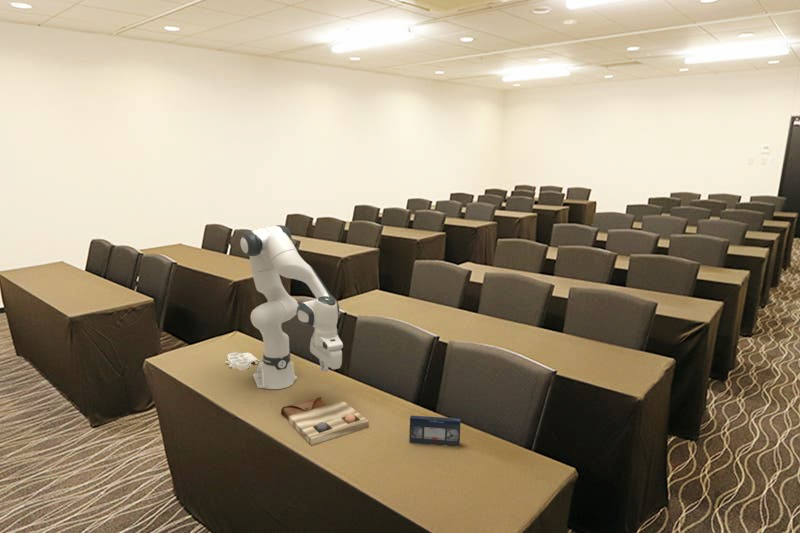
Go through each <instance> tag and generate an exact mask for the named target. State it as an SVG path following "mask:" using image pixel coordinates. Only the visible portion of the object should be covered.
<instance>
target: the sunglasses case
mask: <svg viewBox="0 0 800 533" xmlns="http://www.w3.org/2000/svg"><path fill="white" fill-rule="evenodd" d="M323 406H326V405H325V403H324V400H322V397H317V398H314V399H309V400H306V401H302V402H297V403H295V404H291V405H285V406H283V407H282V408H281V410H280V415H281V416H283V417H284V419H286V420H287V421H288V422H289V416H291V415H295V414H298V413H302V412H305V411H309V410H312V409H316V408H319V407H323Z"/></svg>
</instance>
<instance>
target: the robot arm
mask: <svg viewBox="0 0 800 533" xmlns="http://www.w3.org/2000/svg"><path fill="white" fill-rule="evenodd" d="M239 246H240V249H241V252H242V253H243V254H244V255H246V256H247V257H249V263H250V264H249V265H250V270H251V273H252V278H253V282H254V285H255V290H256V291H257V292H258V293H261V294H262V295H264V297H265V298H266V300H267V302H264V303H261V304H260V305H258V306H256V307H254V309H252V311H251V313H250V322H251V324H252V325H253V327H254V328H256V329H257V330H259V332H260V333H261V336H262V341H263V352H262V353H263V355H262V361H260V363H259V364H258V365H257V368H255V372H254V373H253V375H252V377H253V380H254V382H255V385H256V387H257V388H258V389H267V390H280V389H285V388H289V387H290V386H292V385H293V384H294V383H295V381H297V380H298V376H297V375H295V367H294V362H292V361H291V358H292V356H291V351H290V337H289V335H288V334H287V333H286V332H284V331H283V329H282V325H283V324H282V323H286V322H287V321H289V320H291V319H293V318H294V317H295V316H296V318H297V321H298V322H299V323H300V325H303V326H305V327H313V328H314V331H313V333H312V336H311V338H310V343H309V351H310V353H311V354H312V355H314V356H315V357H316V358H317V359H318V360H319V364H320V370H321V371H322V372H324V373H328V372H329V368H330V369H332V370H336V369H341V367H342V364H343V351H342V349H343V348H344V344H343V341H342V340H341V338H340V337H339V334H338V329H337V325H338V319H339V317H338V316H339V313H340V305H339V302H338V300H337V299H336V298H335V297H334V296H333V295H332V294H331V292H330V291H329V289H328V288H327V287H326V285H325V284H324V282H323V280H322V279H321V278H320V276H319V275H318V273H317V272H316V270H315V269H314V268H313V267H312V266H311V265H310V264H309V263H307V262H306V261H305V260H304V259H303V258H302V257H301V255H300V254H299V253H298V249H297V248H296V246H295V245H294V243H293V241H292V233H291V231H290V228H288V227H287V226H286V225H282V224H281V225H280V224H279V225H274V226H266V227H261V228H257V229H255V230H252V231H251V230H250V231H247V232H244V233H242V234H241V237H240V239H239ZM281 276H282V277H283V278H286V279H290V280H291V279H293V280H296V281H301V282H302V283H305V284H306V285H307V287H308V288H309V290H310V291H311V292H312V294H313V295H314V297H315V299H311V300H307V301H303V302H300V303H298V301H297V300H296V299H295V298H294V296H293V297H292V296H291V295H290V294H289V293H288V292H287V290H286V289H285V287H284V285H283V283H282V280H281Z"/></svg>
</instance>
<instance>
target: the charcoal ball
mask: <svg viewBox="0 0 800 533" xmlns="http://www.w3.org/2000/svg"><path fill="white" fill-rule="evenodd" d="M317 431H318V432H319V433H321V432H324V431H327V424H326V423H324V422H320V423H319V424H318V425H317Z"/></svg>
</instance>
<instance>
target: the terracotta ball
mask: <svg viewBox="0 0 800 533" xmlns="http://www.w3.org/2000/svg"><path fill="white" fill-rule="evenodd" d="M345 422H346V423H347V424H350V423H353V422H355V416H354V415H353V414H348V415H347V416H346V417H345Z"/></svg>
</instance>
